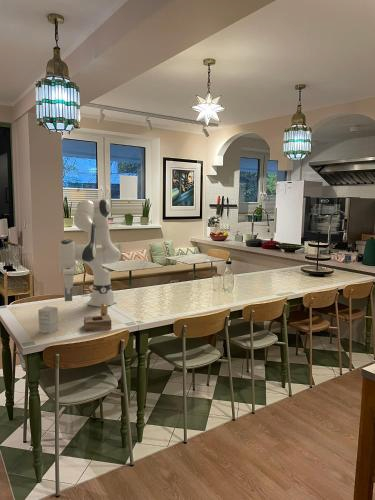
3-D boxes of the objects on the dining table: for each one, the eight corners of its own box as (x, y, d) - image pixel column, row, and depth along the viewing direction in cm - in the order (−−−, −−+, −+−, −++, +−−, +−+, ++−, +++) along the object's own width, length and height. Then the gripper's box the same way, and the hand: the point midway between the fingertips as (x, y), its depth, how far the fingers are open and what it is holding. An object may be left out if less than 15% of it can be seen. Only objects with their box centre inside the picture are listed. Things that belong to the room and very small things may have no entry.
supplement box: (47, 327, 212) (46, 306, 211) (58, 329, 210) (58, 307, 208) (38, 332, 205) (37, 309, 204) (50, 333, 203) (49, 311, 201)
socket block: (84, 325, 217) (83, 317, 216) (108, 323, 222) (108, 315, 221) (85, 331, 208) (85, 322, 207) (111, 328, 213) (111, 320, 212)
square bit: (64, 299, 218) (64, 282, 217) (71, 299, 220) (71, 282, 218) (64, 301, 215) (64, 284, 213) (72, 300, 216) (71, 283, 215)
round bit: (100, 320, 227) (100, 304, 226) (107, 319, 228) (106, 303, 227) (101, 322, 223) (100, 305, 222) (108, 321, 225) (107, 305, 223)
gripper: (61, 265, 223) (61, 288, 225) (62, 272, 204) (63, 297, 206) (72, 265, 225) (72, 287, 227) (74, 271, 206) (75, 296, 208)
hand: (68, 292), depth 216 cm, fingers closed on square bit, 4 cm apart
